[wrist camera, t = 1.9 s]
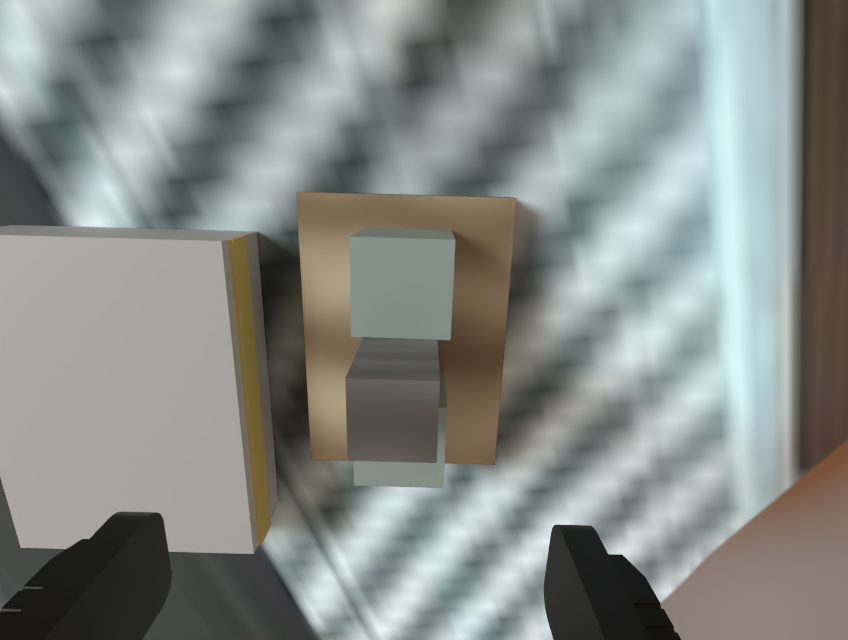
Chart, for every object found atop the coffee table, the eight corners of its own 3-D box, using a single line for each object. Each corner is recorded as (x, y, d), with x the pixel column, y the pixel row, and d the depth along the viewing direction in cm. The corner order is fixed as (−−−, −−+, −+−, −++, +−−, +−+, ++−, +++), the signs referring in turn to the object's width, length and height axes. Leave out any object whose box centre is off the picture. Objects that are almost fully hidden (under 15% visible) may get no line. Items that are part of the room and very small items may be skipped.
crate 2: (365, 367, 23) (352, 404, 19) (443, 369, 23) (447, 407, 19) (366, 437, 24) (354, 485, 20) (440, 439, 24) (443, 487, 20)
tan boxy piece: (307, 191, 22) (216, 195, 12) (508, 197, 22) (571, 205, 12) (319, 439, 26) (257, 586, 16) (489, 444, 26) (525, 593, 16)
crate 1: (364, 227, 21) (349, 236, 17) (451, 229, 21) (455, 240, 17) (365, 310, 22) (351, 336, 18) (447, 313, 22) (450, 340, 18)
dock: (261, 232, 22) (226, 241, 18) (282, 504, 27) (257, 557, 23) (16, 224, 22) (-70, 232, 18) (79, 498, 27) (21, 550, 23)
